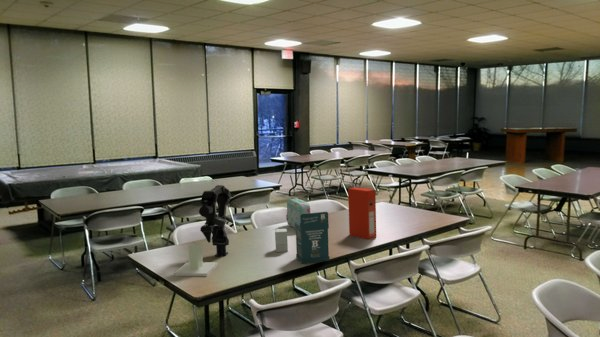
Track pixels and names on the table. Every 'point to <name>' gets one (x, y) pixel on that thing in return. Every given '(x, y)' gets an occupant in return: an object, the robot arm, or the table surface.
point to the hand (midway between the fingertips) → (212, 240)
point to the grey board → (203, 271)
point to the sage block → (195, 255)
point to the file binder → (362, 212)
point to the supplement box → (281, 240)
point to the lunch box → (296, 210)
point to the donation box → (312, 238)
